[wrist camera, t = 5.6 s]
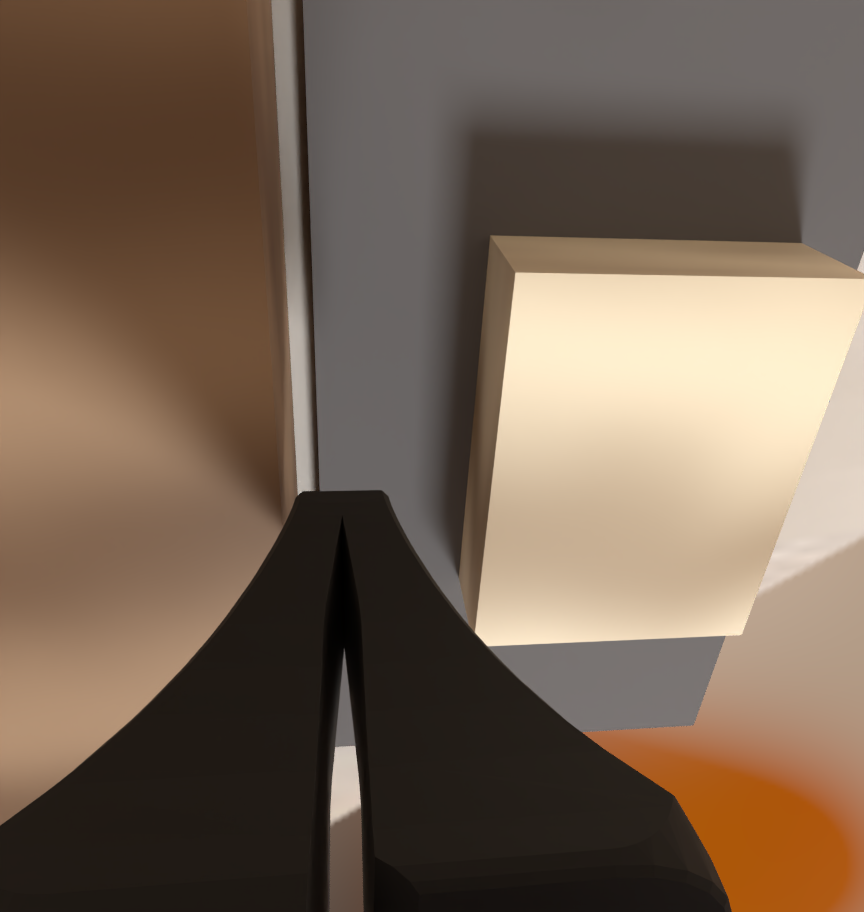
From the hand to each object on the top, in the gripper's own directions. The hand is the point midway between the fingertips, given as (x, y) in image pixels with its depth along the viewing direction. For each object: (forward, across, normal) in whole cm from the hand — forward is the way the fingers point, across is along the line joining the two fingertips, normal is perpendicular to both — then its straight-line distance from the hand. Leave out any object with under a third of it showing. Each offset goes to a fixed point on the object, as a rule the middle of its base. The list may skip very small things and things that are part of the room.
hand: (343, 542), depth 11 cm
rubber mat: (+4, -5, +1) cm, 6 cm away
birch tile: (+2, -6, 0) cm, 6 cm away
